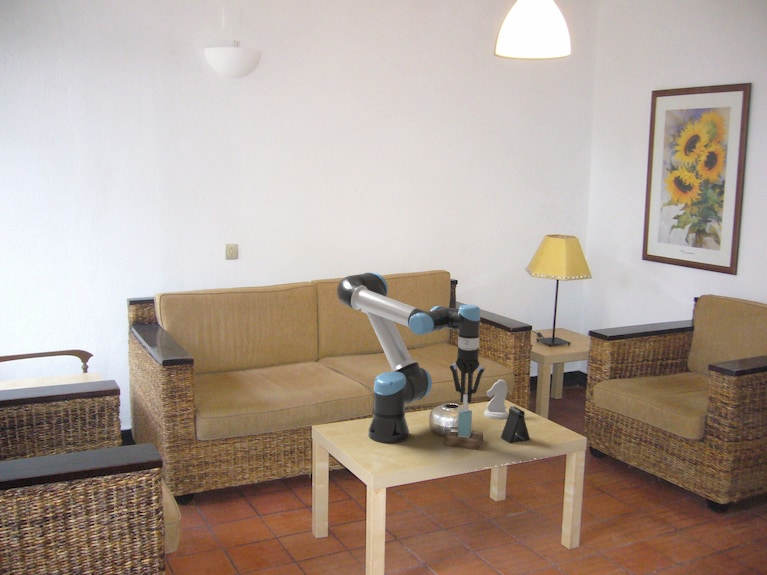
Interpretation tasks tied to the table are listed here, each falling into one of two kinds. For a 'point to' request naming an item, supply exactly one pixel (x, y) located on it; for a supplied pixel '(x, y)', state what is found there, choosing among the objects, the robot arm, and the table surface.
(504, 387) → the chess piece
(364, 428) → the table surface
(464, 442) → the board
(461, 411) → the peg
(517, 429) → the picture frame
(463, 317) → the robot arm
